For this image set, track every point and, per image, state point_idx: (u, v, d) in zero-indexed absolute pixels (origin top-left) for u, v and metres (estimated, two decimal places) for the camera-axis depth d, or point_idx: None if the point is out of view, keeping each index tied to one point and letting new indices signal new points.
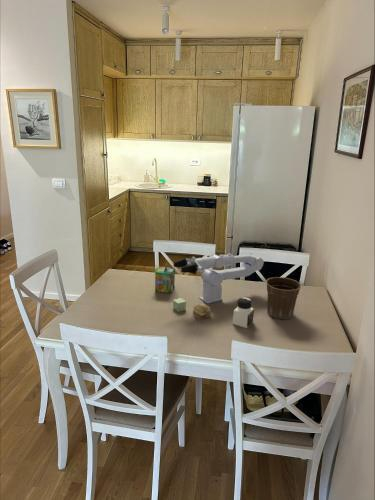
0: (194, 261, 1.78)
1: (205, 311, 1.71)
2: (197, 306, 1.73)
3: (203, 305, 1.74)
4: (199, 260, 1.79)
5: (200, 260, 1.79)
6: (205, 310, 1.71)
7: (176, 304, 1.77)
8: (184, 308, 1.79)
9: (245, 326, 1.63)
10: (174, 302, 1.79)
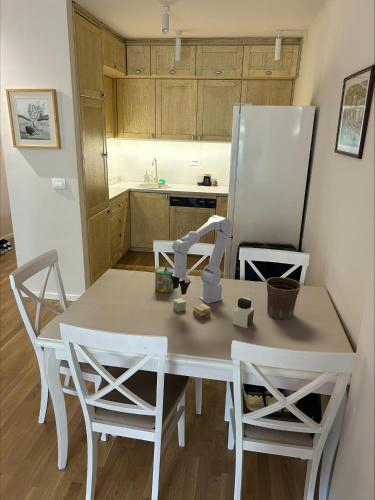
0: None
1: (205, 311, 1.71)
2: (197, 306, 1.73)
3: (203, 305, 1.74)
4: (177, 271, 1.71)
5: (177, 270, 1.71)
6: (205, 310, 1.71)
7: (176, 304, 1.77)
8: (184, 308, 1.79)
9: (245, 326, 1.63)
10: (174, 302, 1.79)
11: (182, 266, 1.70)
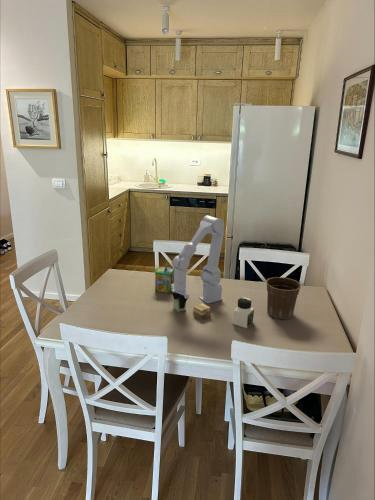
0: None
1: (205, 311, 1.71)
2: (197, 306, 1.73)
3: (203, 305, 1.74)
4: (177, 286, 1.74)
5: (177, 285, 1.74)
6: (205, 310, 1.71)
7: (176, 304, 1.77)
8: (184, 308, 1.79)
9: (245, 326, 1.63)
10: (174, 302, 1.79)
11: (182, 282, 1.73)
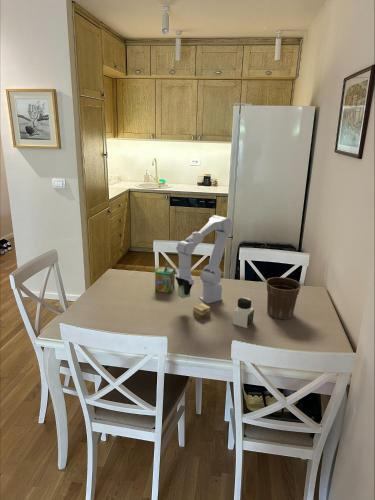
0: None
1: (205, 311, 1.71)
2: (197, 306, 1.73)
3: (203, 305, 1.74)
4: (181, 272, 1.70)
5: (181, 271, 1.70)
6: (205, 310, 1.71)
7: (181, 291, 1.73)
8: (188, 295, 1.75)
9: (245, 326, 1.63)
10: (178, 289, 1.75)
11: (187, 267, 1.69)
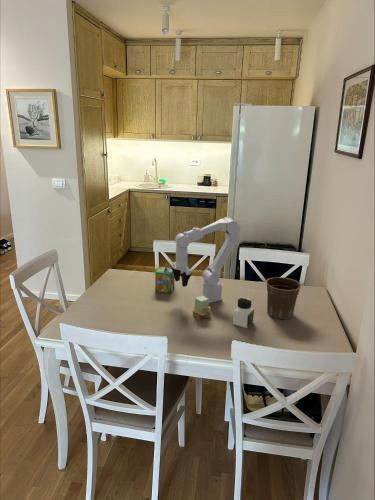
0: None
1: (206, 311, 1.71)
2: None
3: None
4: (178, 264, 1.78)
5: (178, 263, 1.78)
6: (206, 310, 1.71)
7: (199, 302, 1.69)
8: (207, 306, 1.71)
9: (245, 326, 1.63)
10: (196, 300, 1.71)
11: (181, 259, 1.77)
